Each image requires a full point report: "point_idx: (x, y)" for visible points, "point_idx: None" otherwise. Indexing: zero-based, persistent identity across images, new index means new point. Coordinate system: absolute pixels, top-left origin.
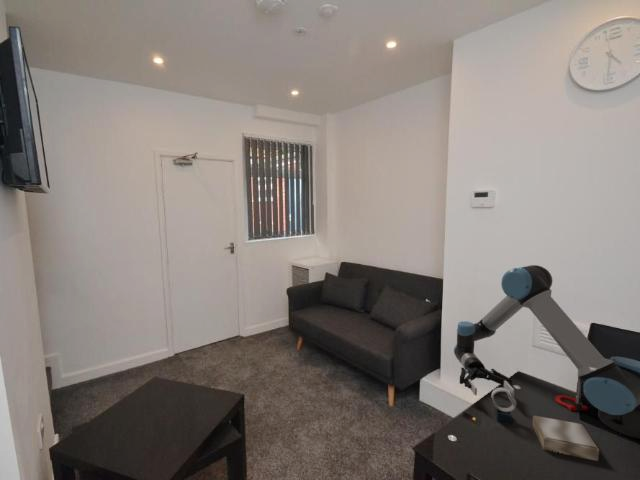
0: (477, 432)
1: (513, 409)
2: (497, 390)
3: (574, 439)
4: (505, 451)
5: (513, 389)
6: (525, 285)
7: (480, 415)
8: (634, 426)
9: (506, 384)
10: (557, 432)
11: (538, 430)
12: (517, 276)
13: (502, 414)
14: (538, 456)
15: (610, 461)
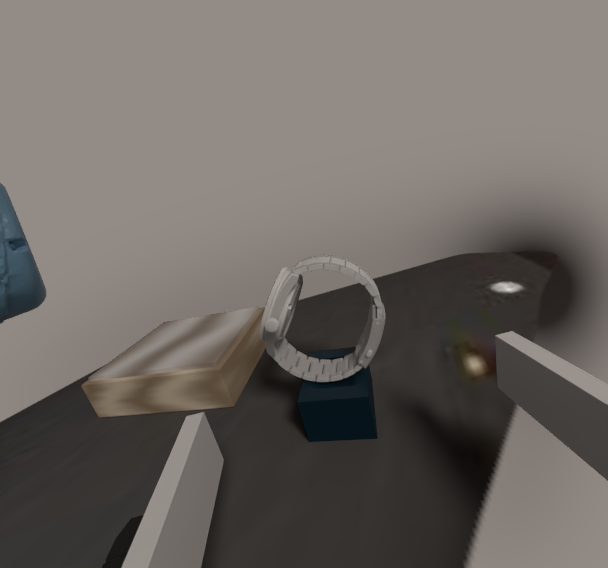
0: (440, 319)
1: (290, 348)
2: (345, 262)
3: (190, 323)
4: (366, 304)
5: (187, 422)
6: None
7: (449, 390)
8: None
9: (168, 534)
10: (211, 326)
11: (251, 339)
12: None
13: (345, 348)
14: (296, 318)
15: None
